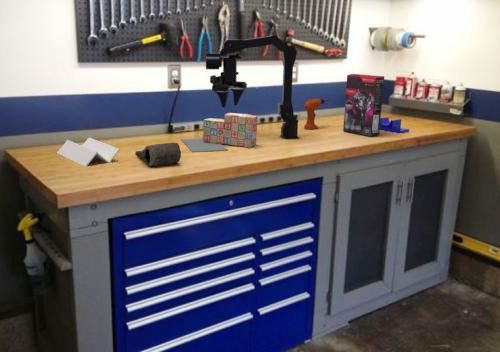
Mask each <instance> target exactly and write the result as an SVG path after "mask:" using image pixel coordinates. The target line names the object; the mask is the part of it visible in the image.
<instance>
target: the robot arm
mask: <svg viewBox="0 0 500 352" xmlns="http://www.w3.org/2000/svg"><path fill="white" fill-rule="evenodd" d="M264 46H273V47H274V48H275V49H277V51H279V52H280V54H281V60H282V61H281V62H282V65H283V69H282V70H283V71H282V72H283V74H282V92H281V93H282V94H281V95H282V96H281V102H278V103H277V111H276V112H277V113H278V116H279V117H280V119H282V122H283V123H282V124H281V125H282V126H281V127H280V137H282V138H283V139H286V140H287V139H288V140H289V139H299V138H300V137H299V136H298V132H299V131H298V128H299V124H298V123H299V120H298V118H297V117H296V116H295V115H294V114H295V112H294V106H293V101H292V93H293V73H294V65H295V62H296V60H297V54H298V51H297V48H296V47H295V46H293V45H290V44H288V43H286V42H285V41H283V40H282V39H280V38H279V36H277V35H275V34H271V35H266V36H258V37H253V38H247V39H237V38H236V39H234V38H229V39H226V40H224V42H223V44H222V48H221V50H220V51H219V52H218V53H210V52H206V53H205V56H206V57H205V69H206V70H220V68H222V71H221V72H220V75H219V76H216V75H215V74H214V75H210V76H209V77H210V78H209V83H210V84H212V85H211V91H212V92H214V93H215V94H216V95H217V96H218V99H219V101H220V105H221V107H222V108H224V109H225V108H226V105H227V101H228V97H229V92H230V91H231V92H232V93H233V95H232V96H233V104H234V106H237V105H238V104H239V101H240V99H241V97H242V96H243V93H244V92H245V91H246V89H247V88H248V86H247V82H246V81H242V80H241V81H240V80H238V81H237V76H238V75H239V71H237V69H238V68H237V67H238V66H237V65H238V64H237V63H238V61H237V60H241V59H242V57H241V56H240V55H239V53H238V52H239V51H243V50H245V49H250V48H259V47H264ZM233 53H235V54H233ZM226 55H228V56H226ZM229 89H230V91H229Z"/></svg>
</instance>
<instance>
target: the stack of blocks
mask: <svg viewBox="0 0 500 352" xmlns="http://www.w3.org/2000/svg"><path fill="white" fill-rule="evenodd" d="M223 116H224V119H223V118H212V117H211V118H210V117H209V118H206V119H203V142H211V143H219V144H221V145H229V146H237V147H245V148H253V147H255V146H256V145H257V133H258V115H255V114H254V115H253V114H250V113H249V114H248V113H236V112H235V113H234V112H227V113H225V114H224V115H223Z"/></svg>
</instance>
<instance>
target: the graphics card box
mask: <svg viewBox="0 0 500 352" xmlns="http://www.w3.org/2000/svg"><path fill="white" fill-rule="evenodd" d="M384 85H385V76H384V75H372V74H371V75H370V74H361V73H349V74H347V75H346V85H345V86H346V88H345V103H344V114H343V115H344V116H343V125H342V126H343V129H342V132H344V133H351V134H356V135H357V134H358V135H361V136H367V137H376V136H379V135H380V131H381V130H380V120H381V118H382V117H381V115H382V107H383V93H384Z"/></svg>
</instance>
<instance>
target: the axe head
mask: <svg viewBox="0 0 500 352" xmlns="http://www.w3.org/2000/svg"><path fill="white" fill-rule="evenodd" d="M181 151H182V150H181V148H180V144H179V142H165V143H156V144H151V145H146V146H145V148H144V149H142V150H136V151H135V155H137V156H139V158H142V159H143V160H144V162H145V164H146V166H147V167H149V168H151V167H162V166H171V165H172V164H176V163H179V162H180V160H181V157H182V153H181Z"/></svg>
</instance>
